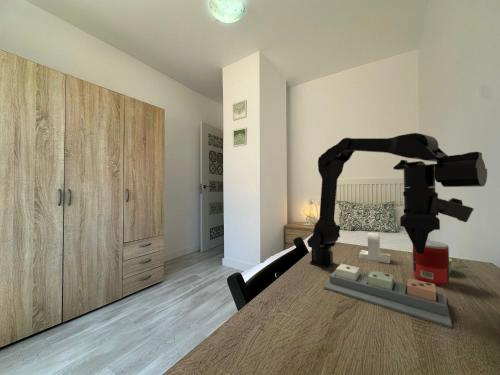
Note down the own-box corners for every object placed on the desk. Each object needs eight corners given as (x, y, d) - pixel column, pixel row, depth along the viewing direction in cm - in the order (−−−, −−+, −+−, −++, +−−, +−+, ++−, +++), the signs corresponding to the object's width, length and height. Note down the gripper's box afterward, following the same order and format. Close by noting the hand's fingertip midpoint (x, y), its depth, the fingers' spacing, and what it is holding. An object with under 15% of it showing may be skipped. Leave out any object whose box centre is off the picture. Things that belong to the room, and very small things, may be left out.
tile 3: (407, 295, 47) (407, 284, 47) (408, 287, 51) (408, 277, 51) (436, 302, 44) (436, 291, 44) (435, 293, 48) (434, 283, 48)
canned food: (456, 287, 55) (456, 247, 56) (423, 285, 57) (422, 245, 57) (437, 275, 63) (436, 240, 63) (407, 273, 64) (407, 239, 65)
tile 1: (336, 276, 58) (336, 267, 58) (341, 271, 62) (341, 263, 62) (355, 281, 54) (355, 272, 54) (359, 275, 58) (359, 266, 58)
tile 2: (368, 285, 52) (368, 275, 53) (371, 278, 56) (371, 269, 56) (391, 291, 49) (391, 280, 49) (393, 283, 53) (393, 274, 53)
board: (323, 288, 56) (323, 279, 56) (339, 272, 66) (339, 264, 66) (451, 327, 39) (451, 315, 39) (445, 298, 50) (445, 288, 50)
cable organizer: (361, 254, 84) (361, 230, 84) (390, 259, 78) (390, 233, 78) (359, 258, 80) (358, 232, 80) (389, 263, 74) (389, 236, 74)
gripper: (477, 186, 36) (479, 275, 35) (462, 187, 50) (463, 250, 50) (399, 187, 43) (400, 261, 43) (405, 187, 57) (406, 243, 57)
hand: (420, 253), depth 48 cm, fingers closed
